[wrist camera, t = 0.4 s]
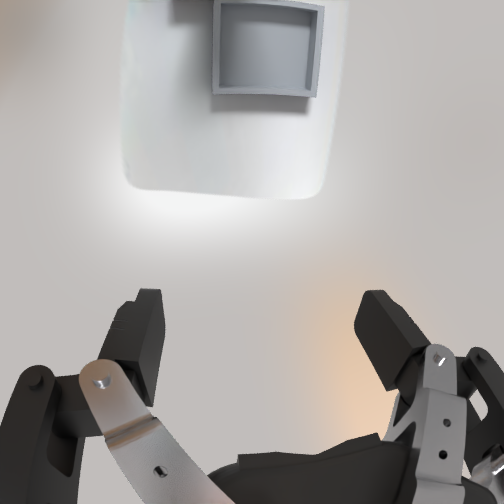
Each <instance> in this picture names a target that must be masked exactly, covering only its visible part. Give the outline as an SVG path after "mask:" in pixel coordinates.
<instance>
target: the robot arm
mask: <svg viewBox="0 0 504 504" xmlns="http://www.w3.org/2000/svg"><path fill="white" fill-rule="evenodd" d="M354 329H355V333H356V335H357V337H358V339H359V341H360V343H361V345H362V346H363V348H364V350H365V352H366V353H367V355H368V357H369V359H370V361H371V363H372V365H373V366H374V368H375V370H376V372H377V374H378V376H379V378H380V380H381V381H382V383H383V385H384V387H385V389H386V391H390V390H394V389H398V390H399V393H398V394H397V396H396V399H395V403H394V407H393V411H392V415H391V419H390V422H389V426H388V430H387V432H386V435H385V437H384V438H383V440H382V441H381V440H380V438H379V436H378V433H373V434H370V435H367V436H362V437H358V438H355V439H351V440H347V441H345V442H343V443H341V444H339V445H337V446H335V447H333V448H330V449H328V450H326V451H324V452H322V453H319V454H316V455H306V454H293V453H282V452H270V453H259V454H258V453H257V454H239V455H238V459H237V463H234V464H230V465H227V466H224V467H222V468H219V469H217V470H216V471H213V472H212V473H210V474H209V475H205V473H204V472H203V471H202V470H201V469H200V468H199V467H198V466H197V465H196V464H195V462H194V461H193V460H192V459H191V458H190V457H189V456H188V454H187V453H186V452H185V451H184V450H183V449H182V448H181V446H180V445H179V444H178V443H177V441H176V440H175V439H174V438H173V436H172V435H171V434H170V433H169V432H168V430H167V429H166V428H165V426H164V425H163V424H162V423H161V421H160V420H159V419H158V418H157V417H153V416H152V414H151V413H150V412H149V410H148V409H147V407H146V406H148V407H153V403H154V396H155V390H156V383H157V377H158V371H159V366H160V360H161V354H162V348H163V343H164V338H165V318H164V311H163V303H162V294H161V290H160V289H140V290H139V293H138V295H137V298H136V300H135V302H132V301H126V302H125V303H124V304H123V305H122V306H121V307H120V308H119V309H118V310H117V313H116V315H115V317H114V321H113V322H112V324H111V326H110V329H109V331H108V334H107V336H106V338H105V341H104V343H103V346H102V348H101V351H100V353H99V356H98V359H97V360H95V361H92V362H90V363H88V364H87V365H85V366H84V368H83V369H82V370H81V372H80V374H77V375H70V376H59V377H55V376H54V374H53V372H52V371H51V370H50V369H49V368H48V367H46V366H43V365H35V366H31V367H29V368H27V369H26V370H25V371H24V372H23V373H22V374H21V375H20V377H19V379H18V381H17V384H16V386H15V388H14V391H13V393H12V396H11V398H10V401H9V403H8V406H7V408H6V411H5V414H4V417H3V420H2V422H1V426H0V504H77V498H78V486H79V478H80V470H81V462H82V455H83V449H84V443H85V437H92V436H102V435H104V437H105V442H106V444H107V447H108V448H109V450H110V452H111V454H112V455H113V457H114V459H115V460H116V462H117V464H118V465H119V467H120V469H121V470H122V472H123V473H124V475H125V476H126V478H127V479H128V481H129V482H130V484H131V485H132V487H133V488H134V489H135V491H136V492H137V494H138V495H139V497H140V498H141V499H142V501H143V502H144V503H145V504H504V373H503V371H502V370H501V368H500V367H499V365H498V364H497V363H496V361H494V359H493V357H492V356H491V355H490V354H489V353H488V352H487V351H486V350H484V349H482V348H480V347H473V348H471V349H470V351H469V352H468V354H467V356H466V357H455V356H454V354H453V353H452V352H451V351H450V350H449V349H448V348H446V347H445V346H442V345H439V344H431V343H430V342H429V340H428V339H427V338H426V337H425V335H424V334H423V333H422V331H421V330H420V329H419V327H418V326H417V325H416V324H415V323H414V321H413V320H412V319H411V317H409V315H408V314H407V312H406V311H405V310H404V309H403V308H402V307H401V306H400V305H398V304H397V303H395V302H394V301H393V300H392V299H391V298H390V297H389V295H387V293H386V292H385V291H384V290H368V291H366V292H365V293H364V295H363V298H362V301H361V304H360V307H359V309H358V313H357V315H356V318H355V322H354ZM477 389H478V391H479V393H480V394H481V396H482V397H483V399H484V401H485V402H486V404H487V406H488V413H487V416H486V417H485V418H484V419H483V420H482V421H481V420H480V418H479V416H478V414H477V412H476V411H475V409H474V407H473V405H472V404H471V402H470V400H469V398H470V397H471V396H472V395H473V393H474V392H475V391H476V390H477ZM463 459H464V460H465V462H466V465H467V467H468V469H469V472H470V474H471V478H470V479H467V478H465V477H463V476H461V475H462V467H463Z"/></svg>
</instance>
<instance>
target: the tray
mask: <svg viewBox="0 0 504 504" xmlns="http://www.w3.org/2000/svg"><path fill="white" fill-rule="evenodd" d="M324 8H325V6H320V5H314V4H308V3H302V2H295V1H288V0H214V5H213V46H212V94H274V95H291V96H304V97H315V98H316V95H317V86H318V77H319V68H320V57H321V47H322V35H323V22H324Z"/></svg>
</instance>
